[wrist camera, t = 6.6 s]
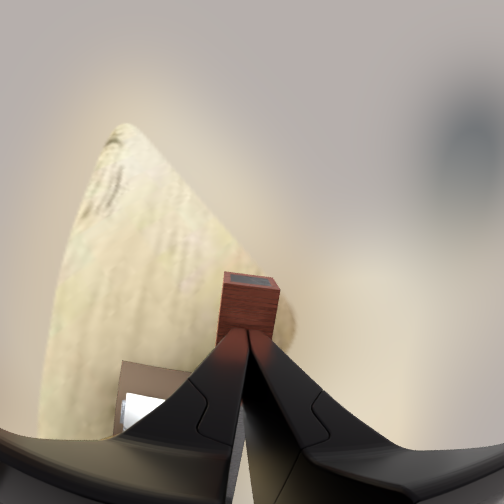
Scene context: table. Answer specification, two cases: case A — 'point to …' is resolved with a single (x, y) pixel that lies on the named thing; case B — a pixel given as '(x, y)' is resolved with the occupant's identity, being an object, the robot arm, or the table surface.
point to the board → (145, 384)
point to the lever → (249, 317)
